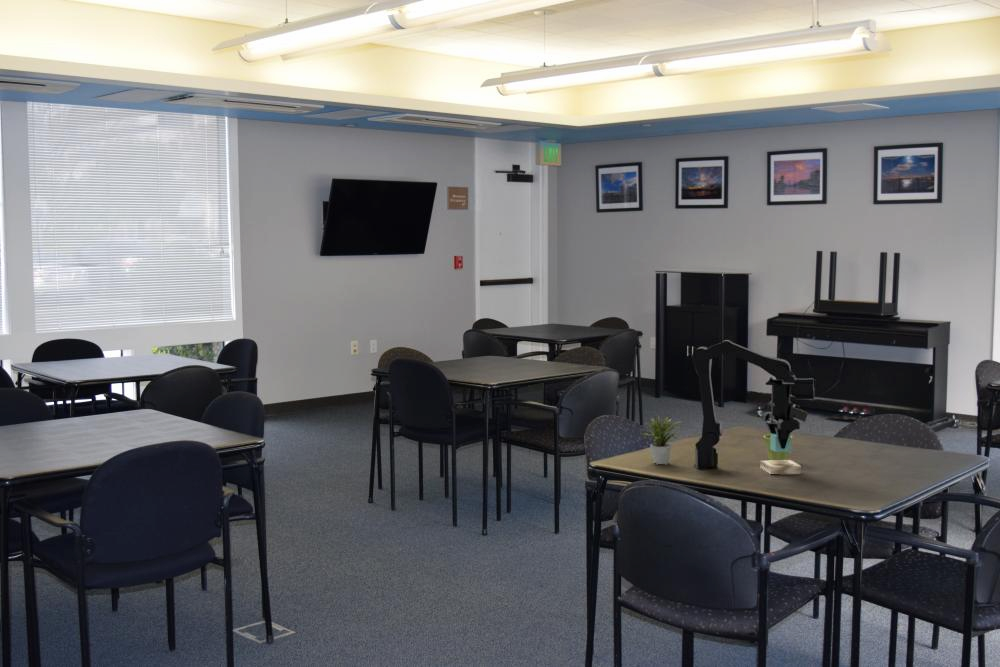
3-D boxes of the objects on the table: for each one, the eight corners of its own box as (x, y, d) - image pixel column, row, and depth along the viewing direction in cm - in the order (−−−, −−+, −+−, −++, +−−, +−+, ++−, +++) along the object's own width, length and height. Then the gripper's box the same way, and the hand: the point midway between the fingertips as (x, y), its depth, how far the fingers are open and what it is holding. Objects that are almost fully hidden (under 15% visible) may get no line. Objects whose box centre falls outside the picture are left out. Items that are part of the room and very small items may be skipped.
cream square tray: (770, 474, 319) (770, 466, 319) (760, 468, 329) (760, 460, 329) (801, 473, 320) (801, 465, 320) (790, 467, 330) (790, 459, 330)
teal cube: (775, 451, 321) (775, 436, 321) (770, 448, 326) (770, 433, 326) (790, 451, 322) (790, 436, 321) (785, 448, 327) (785, 433, 326)
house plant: (679, 469, 329) (679, 419, 328) (637, 467, 334) (637, 418, 332) (685, 460, 343) (685, 413, 341) (645, 458, 347) (645, 411, 346)
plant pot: (767, 464, 334) (767, 439, 333) (760, 459, 344) (760, 434, 343) (795, 464, 334) (795, 438, 333) (788, 458, 343) (788, 433, 343)
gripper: (816, 402, 314) (815, 452, 315) (794, 394, 332) (794, 441, 334) (781, 403, 313) (780, 453, 314) (761, 395, 332) (761, 441, 333)
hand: (780, 447), depth 324 cm, fingers closed on teal cube, 5 cm apart
